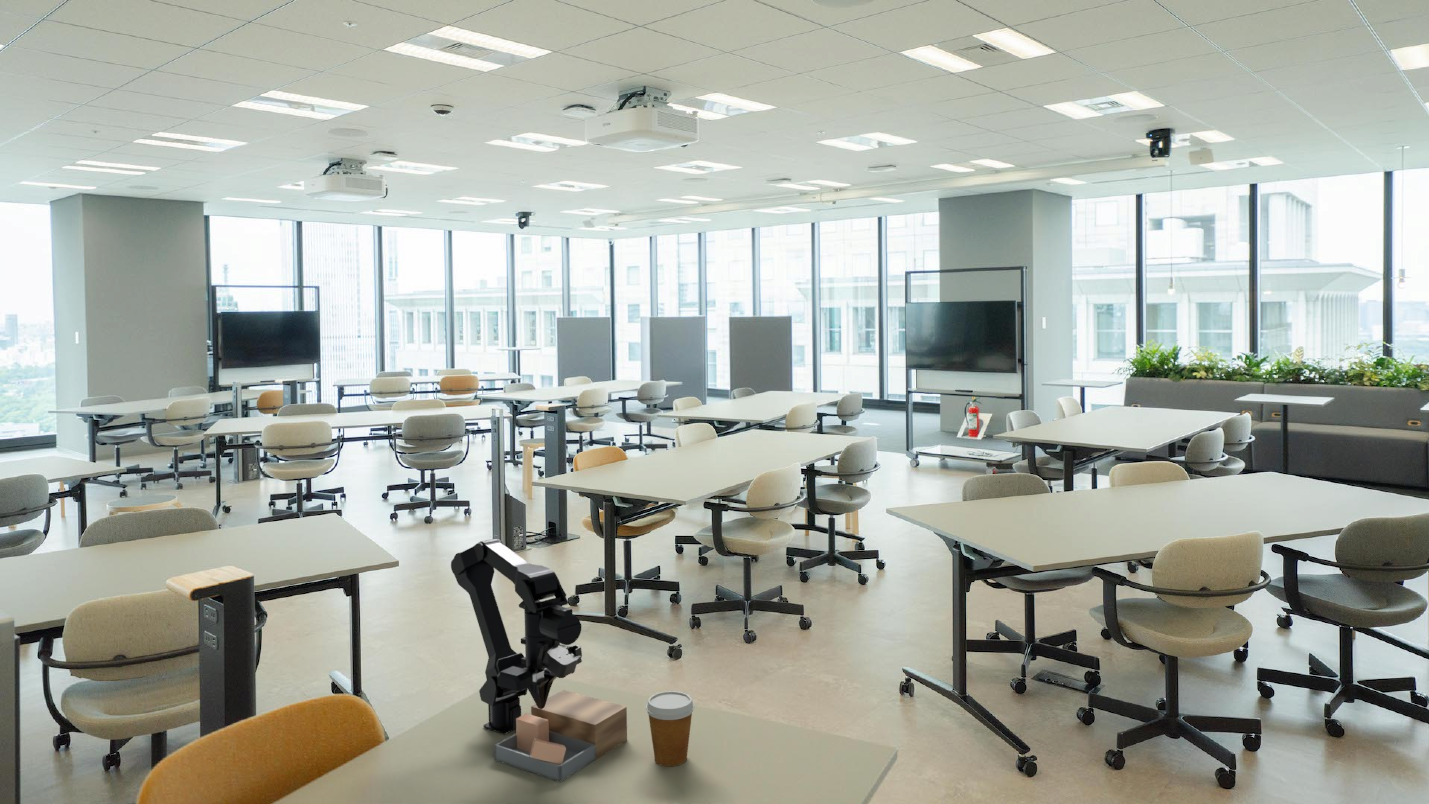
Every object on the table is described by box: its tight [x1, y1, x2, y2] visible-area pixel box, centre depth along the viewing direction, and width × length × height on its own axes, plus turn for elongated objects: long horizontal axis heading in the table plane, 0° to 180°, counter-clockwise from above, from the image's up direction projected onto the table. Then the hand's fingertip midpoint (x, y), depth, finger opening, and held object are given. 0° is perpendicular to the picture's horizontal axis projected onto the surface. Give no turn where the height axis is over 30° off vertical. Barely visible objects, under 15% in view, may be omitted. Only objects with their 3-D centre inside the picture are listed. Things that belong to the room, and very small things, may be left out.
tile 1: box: [515, 712, 549, 752], centre depth 182 cm, size 6×6×3 cm
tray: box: [493, 731, 597, 783], centre depth 178 cm, size 17×10×3 cm, turn 58°
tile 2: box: [530, 738, 566, 764], centre depth 174 cm, size 6×6×3 cm
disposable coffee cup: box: [645, 690, 695, 767], centre depth 177 cm, size 10×10×12 cm
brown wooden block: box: [530, 689, 628, 760], centre depth 186 cm, size 17×10×7 cm, turn 58°
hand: (541, 708), depth 183 cm, fingers closed
